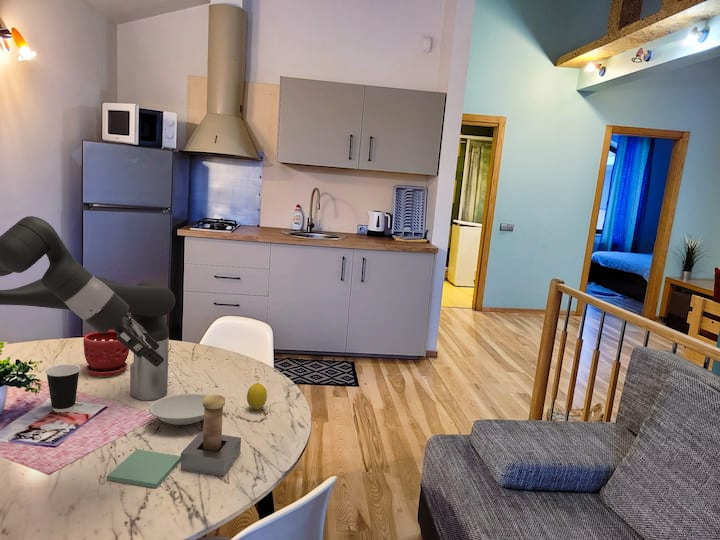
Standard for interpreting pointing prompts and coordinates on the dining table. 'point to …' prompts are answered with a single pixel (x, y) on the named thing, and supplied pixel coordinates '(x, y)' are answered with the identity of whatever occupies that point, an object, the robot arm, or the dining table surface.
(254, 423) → the dining table surface
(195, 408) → the dish
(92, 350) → the plant pot
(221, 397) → the peg
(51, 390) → the dixie cup
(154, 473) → the mat
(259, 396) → the lemon
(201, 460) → the grey square socket block
